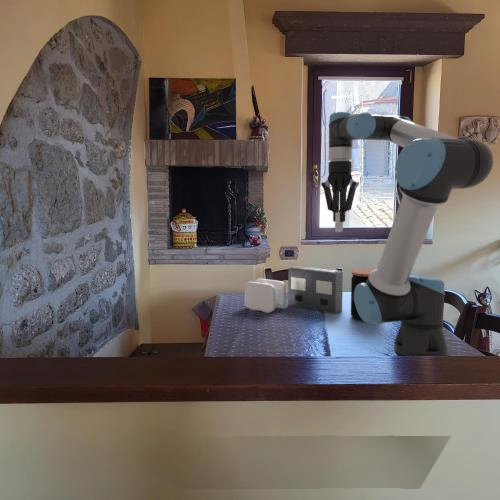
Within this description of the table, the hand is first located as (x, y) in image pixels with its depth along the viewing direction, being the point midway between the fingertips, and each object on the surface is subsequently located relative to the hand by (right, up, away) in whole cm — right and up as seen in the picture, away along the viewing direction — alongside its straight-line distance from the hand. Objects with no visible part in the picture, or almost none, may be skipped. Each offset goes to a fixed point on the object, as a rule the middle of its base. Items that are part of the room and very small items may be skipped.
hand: (338, 231), depth 152 cm
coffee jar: (+14, -32, +18) cm, 40 cm away
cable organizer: (-24, -31, +34) cm, 52 cm away
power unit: (-3, -30, +34) cm, 45 cm away
